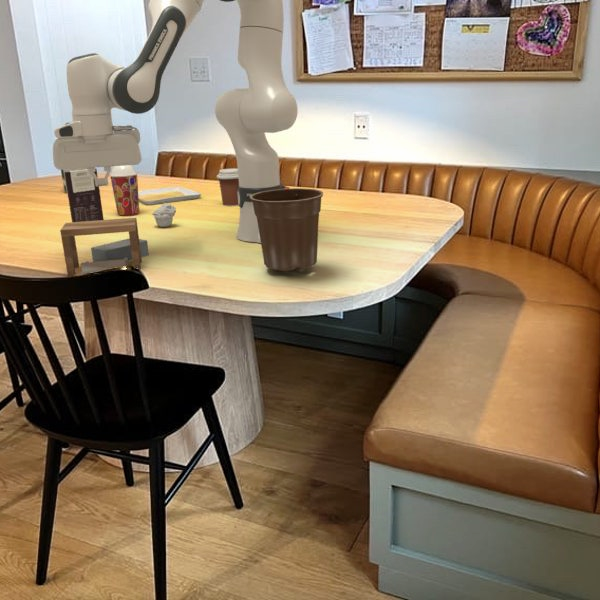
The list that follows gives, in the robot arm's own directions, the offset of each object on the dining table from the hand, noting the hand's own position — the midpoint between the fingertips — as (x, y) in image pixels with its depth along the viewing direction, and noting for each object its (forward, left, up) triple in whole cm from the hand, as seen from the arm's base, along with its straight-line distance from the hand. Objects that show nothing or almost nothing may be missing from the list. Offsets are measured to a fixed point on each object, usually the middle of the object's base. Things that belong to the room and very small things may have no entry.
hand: (102, 185), depth 155 cm
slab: (-3, +6, -18) cm, 19 cm away
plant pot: (-42, +24, -17) cm, 51 cm away
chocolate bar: (+8, -27, -17) cm, 33 cm away
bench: (0, +13, -17) cm, 22 cm away
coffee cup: (-36, -54, -17) cm, 67 cm away
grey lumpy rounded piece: (-13, -27, -17) cm, 34 cm away
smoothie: (-2, -47, -17) cm, 50 cm away
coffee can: (+19, -92, -17) cm, 95 cm away
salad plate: (-13, -72, -18) cm, 75 cm away
